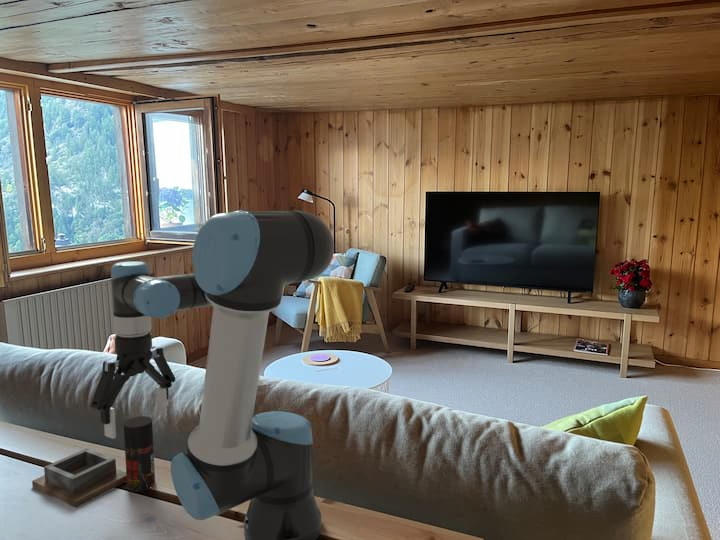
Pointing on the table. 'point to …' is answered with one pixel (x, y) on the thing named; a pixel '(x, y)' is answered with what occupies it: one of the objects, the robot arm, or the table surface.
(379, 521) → the table surface
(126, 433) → the deodorant
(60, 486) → the socket stand
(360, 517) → the table surface
